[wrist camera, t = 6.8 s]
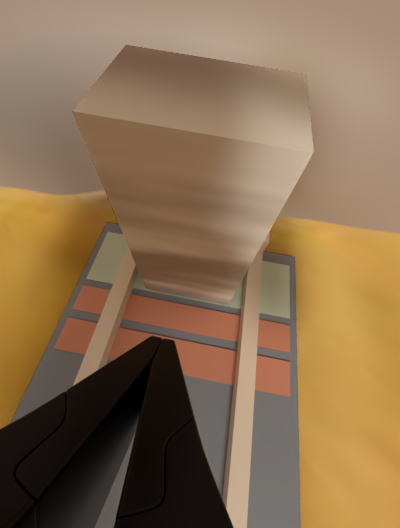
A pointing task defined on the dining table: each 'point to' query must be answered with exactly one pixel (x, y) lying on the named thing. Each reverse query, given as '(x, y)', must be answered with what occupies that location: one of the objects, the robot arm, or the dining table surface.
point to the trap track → (197, 371)
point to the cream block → (195, 162)
